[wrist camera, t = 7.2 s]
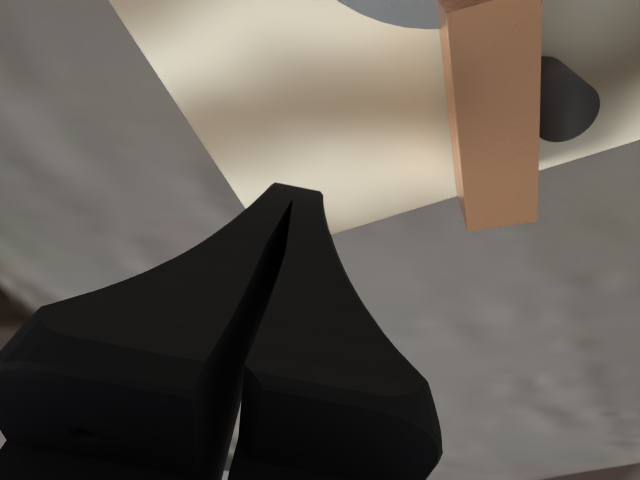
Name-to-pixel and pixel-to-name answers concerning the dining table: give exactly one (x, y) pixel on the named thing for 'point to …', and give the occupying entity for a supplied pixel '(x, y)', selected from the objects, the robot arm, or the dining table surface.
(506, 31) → the grey and orange-brown pieces
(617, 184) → the dining table surface
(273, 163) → the base board
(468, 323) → the dining table surface
